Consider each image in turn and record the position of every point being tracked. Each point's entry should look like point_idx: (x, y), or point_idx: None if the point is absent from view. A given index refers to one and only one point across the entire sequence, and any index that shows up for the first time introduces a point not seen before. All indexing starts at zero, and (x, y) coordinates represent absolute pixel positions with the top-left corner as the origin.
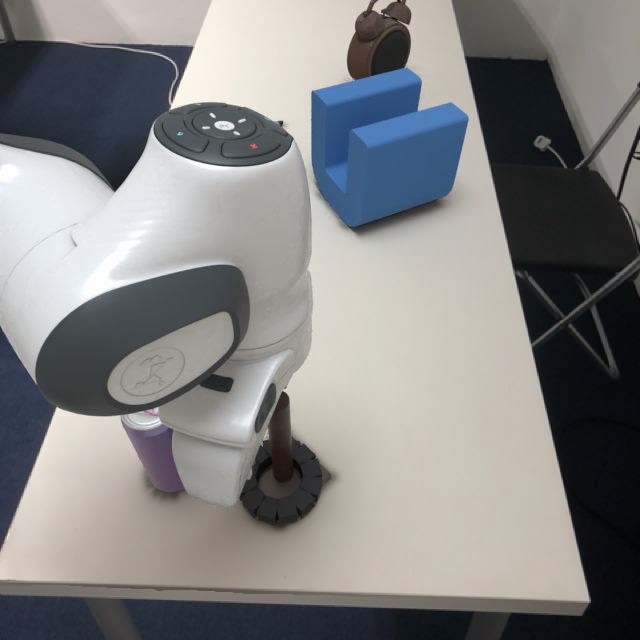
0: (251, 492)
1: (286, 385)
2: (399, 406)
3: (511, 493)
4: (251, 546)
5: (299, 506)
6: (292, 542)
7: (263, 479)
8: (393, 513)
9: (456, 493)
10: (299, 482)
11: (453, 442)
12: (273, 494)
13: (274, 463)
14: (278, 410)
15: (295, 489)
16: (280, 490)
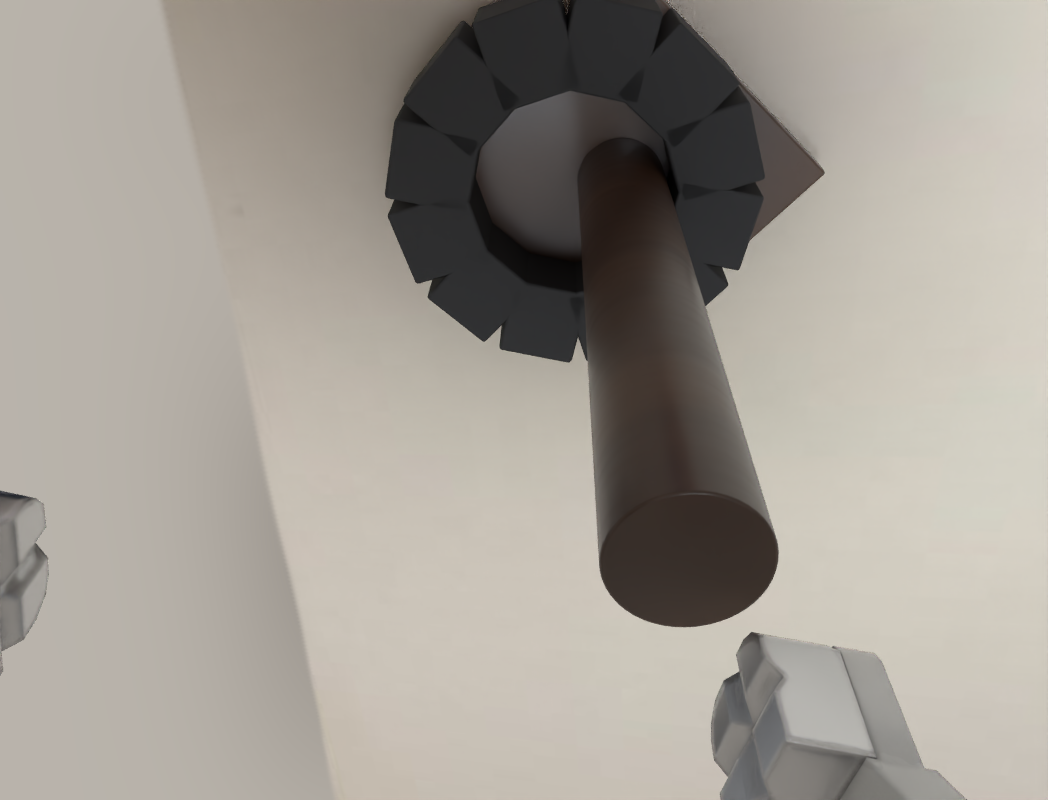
0: (484, 84)
1: (720, 762)
2: (898, 550)
3: (584, 774)
4: (319, 71)
5: (444, 290)
6: (361, 225)
7: (587, 98)
8: (502, 522)
9: (578, 669)
10: (580, 247)
11: None
12: (523, 148)
13: (592, 208)
14: (603, 577)
15: (551, 234)
16: (542, 175)
